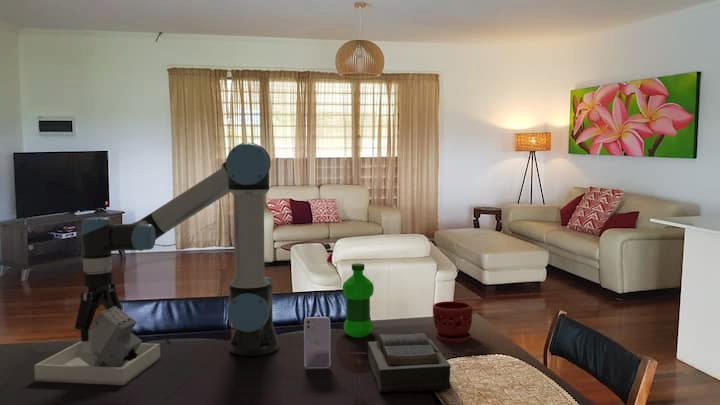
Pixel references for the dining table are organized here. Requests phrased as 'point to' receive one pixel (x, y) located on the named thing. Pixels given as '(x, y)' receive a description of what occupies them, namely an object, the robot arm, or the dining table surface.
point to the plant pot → (452, 321)
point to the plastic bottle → (358, 303)
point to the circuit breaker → (111, 340)
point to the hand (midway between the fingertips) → (100, 344)
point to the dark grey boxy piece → (408, 363)
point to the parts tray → (94, 367)
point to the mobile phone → (317, 342)
